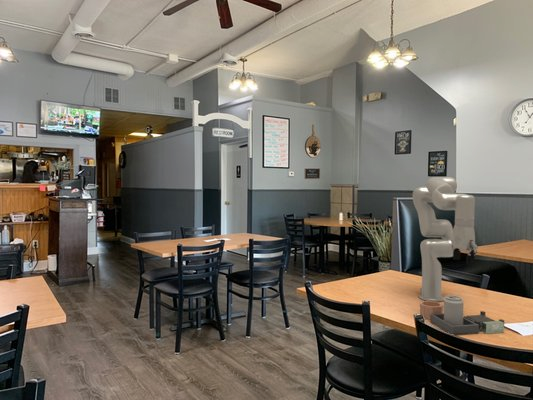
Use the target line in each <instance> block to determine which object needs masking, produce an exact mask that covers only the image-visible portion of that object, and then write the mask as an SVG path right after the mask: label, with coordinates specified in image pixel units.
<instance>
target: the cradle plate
mask: <svg viewBox="0 0 533 400" xmlns="http://www.w3.org/2000/svg"><path fill="white" fill-rule="evenodd" d="M463 317H464V318H466V319H468V320H470V321H472V322H474V323H475V321H479V322H480V328H482V322H489V321H496V320H494V319H493V318H491V317H488V316H486V315H485V316H484V315H480V314H472V315H471V314H470V315H463Z"/></svg>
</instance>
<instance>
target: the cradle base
mask: <svg viewBox="0 0 533 400" xmlns="http://www.w3.org/2000/svg"><path fill="white" fill-rule="evenodd" d="M479 312H480V313H479V315H484V316H486V311H484V310H480V311H479ZM475 323H476V324H478V325H479V333H480V332H482V333H483V334H487V335H489V334H500V333H501V334H503V333H505V320H504V319H501V318H500V319H498V320H495V321H489V322H482V328H480V322H479V321H475Z"/></svg>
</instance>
